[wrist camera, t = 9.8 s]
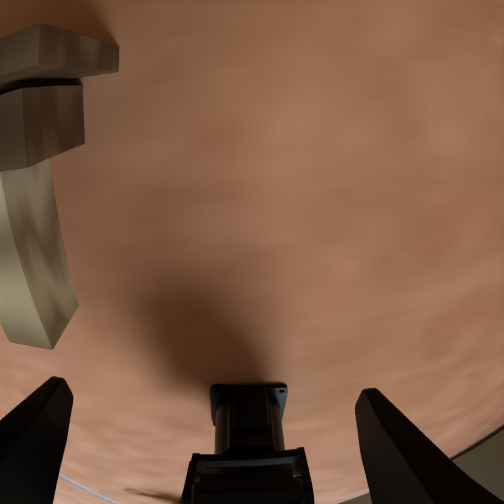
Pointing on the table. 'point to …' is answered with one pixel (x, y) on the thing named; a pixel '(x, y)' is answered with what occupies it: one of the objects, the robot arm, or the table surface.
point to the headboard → (45, 91)
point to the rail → (33, 260)
